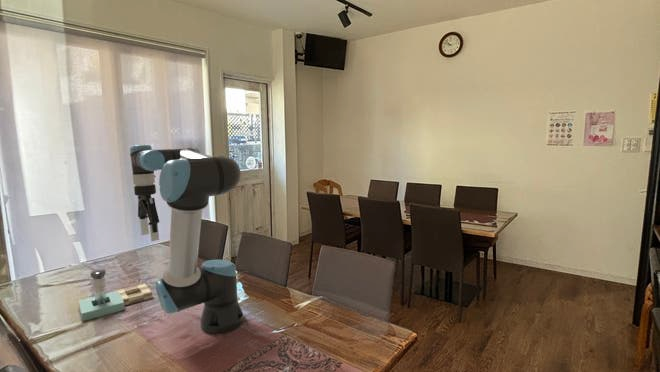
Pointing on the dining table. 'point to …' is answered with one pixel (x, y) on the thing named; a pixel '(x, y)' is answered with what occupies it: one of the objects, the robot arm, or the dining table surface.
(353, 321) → the dining table surface
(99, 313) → the dock
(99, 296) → the pin
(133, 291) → the mount
